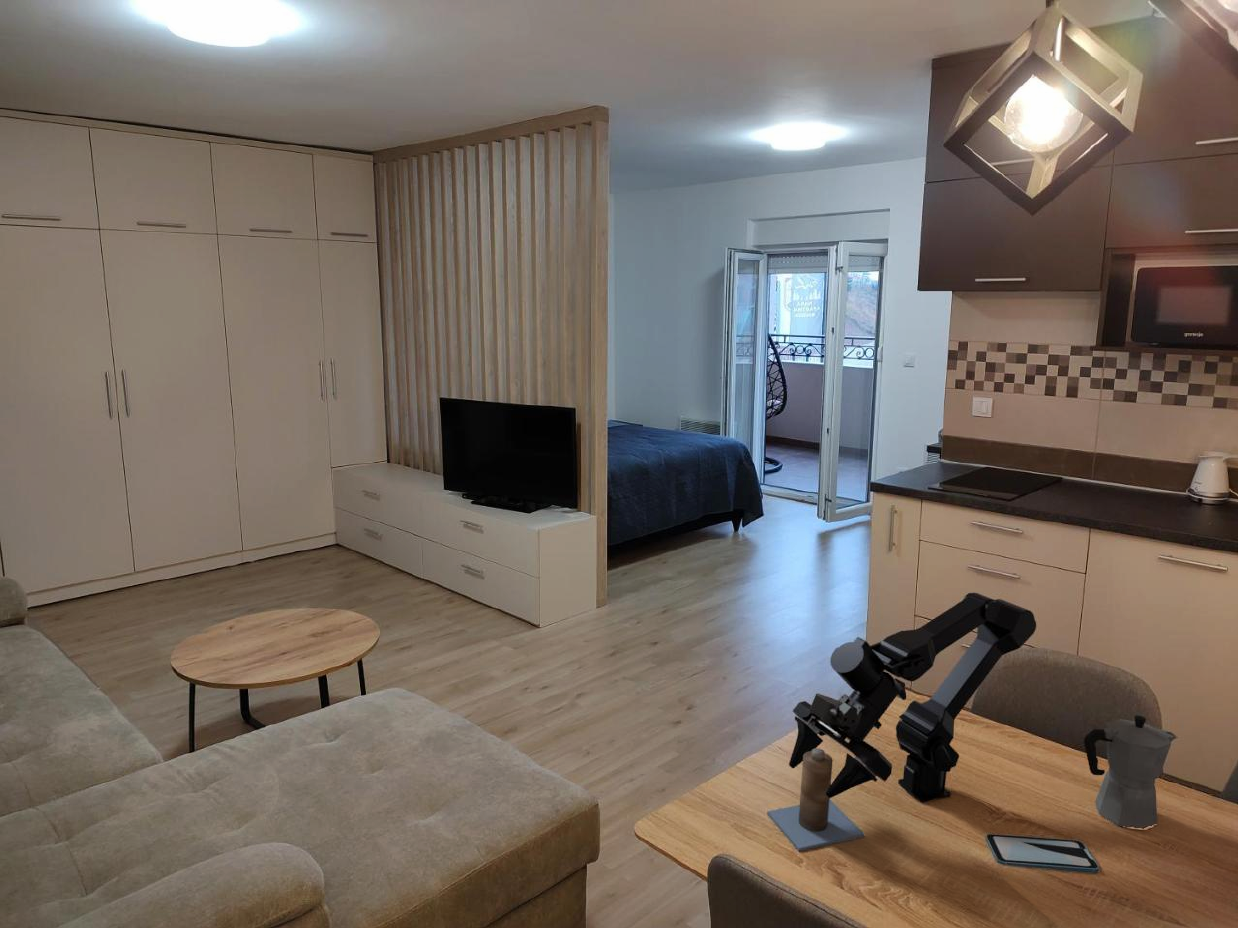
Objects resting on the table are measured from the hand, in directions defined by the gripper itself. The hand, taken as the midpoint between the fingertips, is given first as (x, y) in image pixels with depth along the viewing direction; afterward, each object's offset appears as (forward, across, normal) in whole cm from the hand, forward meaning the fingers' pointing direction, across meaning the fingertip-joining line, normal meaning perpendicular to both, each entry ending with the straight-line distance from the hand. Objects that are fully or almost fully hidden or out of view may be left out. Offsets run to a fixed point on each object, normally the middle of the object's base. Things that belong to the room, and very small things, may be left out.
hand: (808, 781), depth 136 cm
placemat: (+5, 0, +7) cm, 9 cm away
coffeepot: (-30, +19, +42) cm, 55 cm away
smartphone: (-14, +21, +27) cm, 37 cm away
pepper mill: (+4, 0, +7) cm, 8 cm away
